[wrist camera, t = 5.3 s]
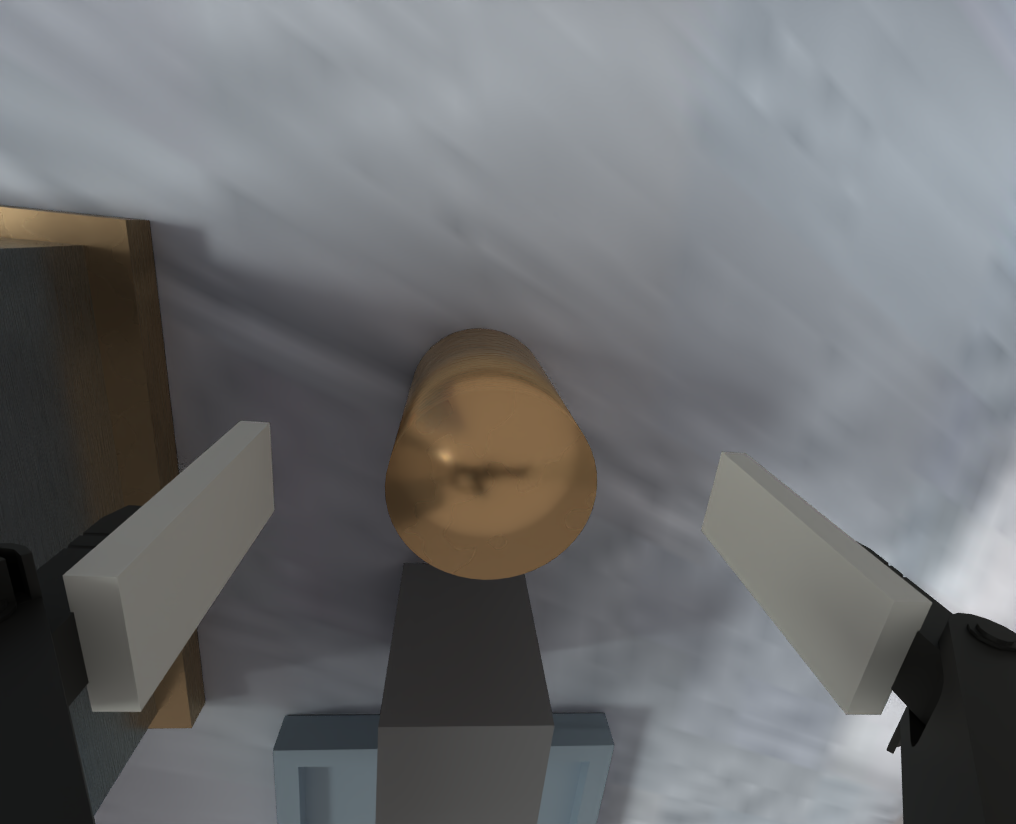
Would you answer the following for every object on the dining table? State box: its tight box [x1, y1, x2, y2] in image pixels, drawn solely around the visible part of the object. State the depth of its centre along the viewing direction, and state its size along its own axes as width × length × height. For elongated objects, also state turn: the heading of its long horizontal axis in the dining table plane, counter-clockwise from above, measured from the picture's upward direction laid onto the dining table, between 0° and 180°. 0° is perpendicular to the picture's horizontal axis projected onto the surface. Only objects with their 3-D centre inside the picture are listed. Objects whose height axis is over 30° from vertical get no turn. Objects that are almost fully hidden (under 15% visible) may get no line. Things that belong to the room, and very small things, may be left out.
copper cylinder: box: [385, 328, 597, 580], centre depth 19 cm, size 6×6×9 cm
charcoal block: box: [375, 563, 554, 824], centre depth 23 cm, size 6×6×9 cm
